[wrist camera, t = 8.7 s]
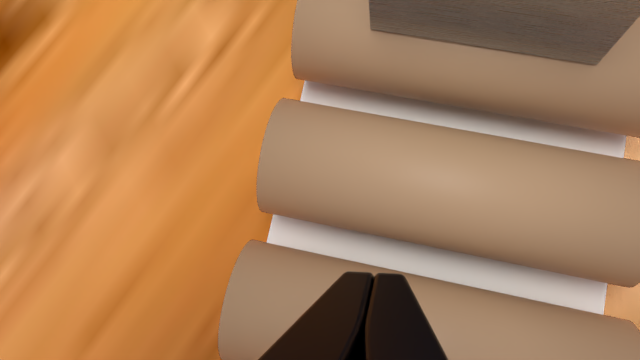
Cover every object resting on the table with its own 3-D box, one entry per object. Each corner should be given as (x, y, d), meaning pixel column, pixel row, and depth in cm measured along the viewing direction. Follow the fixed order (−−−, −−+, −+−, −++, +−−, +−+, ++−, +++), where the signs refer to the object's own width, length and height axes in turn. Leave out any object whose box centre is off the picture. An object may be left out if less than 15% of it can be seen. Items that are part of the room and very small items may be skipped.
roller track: (579, 451, 20) (670, 519, 14) (240, 367, 22) (180, 392, 15) (661, -180, 25) (759, -351, 18) (375, -207, 26) (373, -373, 20)
